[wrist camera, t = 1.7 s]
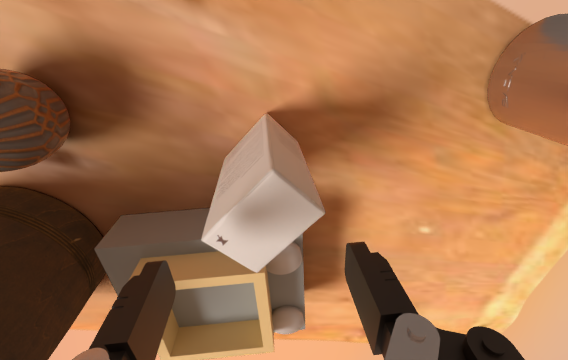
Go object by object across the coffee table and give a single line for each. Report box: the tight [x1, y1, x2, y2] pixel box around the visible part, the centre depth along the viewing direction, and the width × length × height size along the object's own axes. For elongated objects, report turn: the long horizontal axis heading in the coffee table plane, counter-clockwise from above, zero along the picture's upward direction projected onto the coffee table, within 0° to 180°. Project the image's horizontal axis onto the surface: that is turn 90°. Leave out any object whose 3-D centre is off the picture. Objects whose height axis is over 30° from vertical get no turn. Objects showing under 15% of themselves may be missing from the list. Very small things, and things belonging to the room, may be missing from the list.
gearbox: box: [94, 208, 305, 360], centre depth 27 cm, size 18×14×8 cm
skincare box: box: [201, 113, 325, 273], centre depth 20 cm, size 6×4×12 cm
